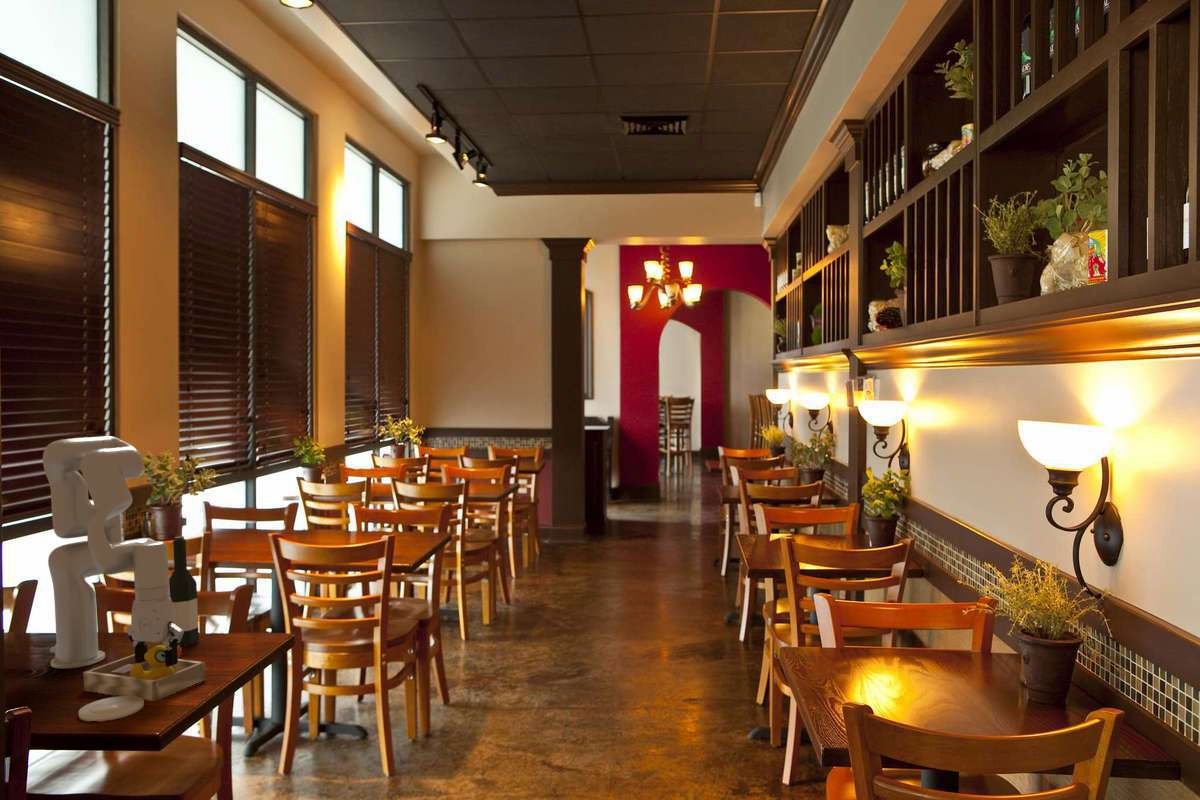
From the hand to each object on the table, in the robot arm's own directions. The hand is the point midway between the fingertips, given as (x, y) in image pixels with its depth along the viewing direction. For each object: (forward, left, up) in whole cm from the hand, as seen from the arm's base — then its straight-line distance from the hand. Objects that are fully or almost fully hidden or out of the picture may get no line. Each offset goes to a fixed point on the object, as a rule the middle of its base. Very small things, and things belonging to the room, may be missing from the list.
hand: (156, 663), depth 222 cm
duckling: (-1, 0, -6) cm, 6 cm away
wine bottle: (-24, +31, -6) cm, 39 cm away
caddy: (-4, 0, -6) cm, 7 cm away
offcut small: (-10, 0, -4) cm, 11 cm away
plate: (+2, -15, -6) cm, 16 cm away
